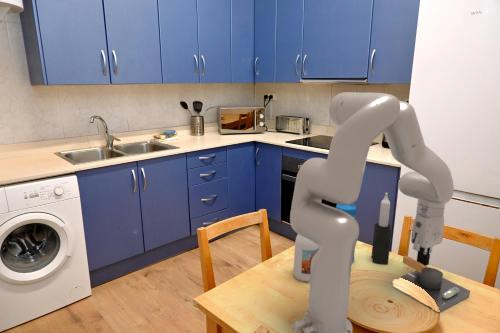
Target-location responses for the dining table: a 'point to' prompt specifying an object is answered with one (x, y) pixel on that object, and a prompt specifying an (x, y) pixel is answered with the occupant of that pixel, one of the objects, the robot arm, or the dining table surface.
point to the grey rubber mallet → (425, 274)
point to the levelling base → (441, 291)
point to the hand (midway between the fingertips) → (422, 263)
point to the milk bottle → (304, 257)
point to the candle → (382, 235)
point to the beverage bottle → (350, 210)
